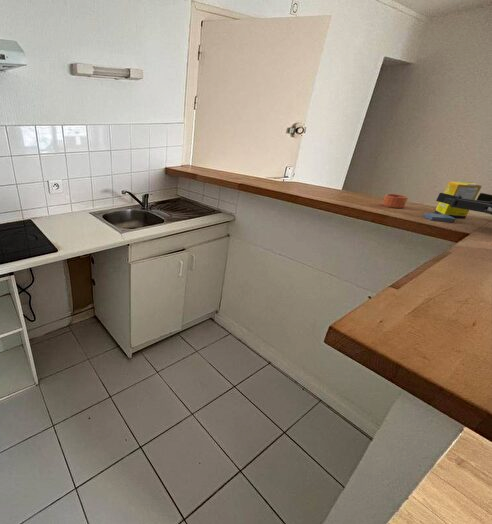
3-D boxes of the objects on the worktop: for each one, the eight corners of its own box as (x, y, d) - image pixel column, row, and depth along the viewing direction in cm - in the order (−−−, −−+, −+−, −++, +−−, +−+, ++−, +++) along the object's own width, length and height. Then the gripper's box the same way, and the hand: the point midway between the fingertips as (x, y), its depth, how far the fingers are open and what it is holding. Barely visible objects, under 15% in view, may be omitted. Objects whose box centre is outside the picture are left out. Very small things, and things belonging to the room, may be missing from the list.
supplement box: (454, 213, 98) (471, 182, 94) (465, 218, 93) (483, 185, 89) (433, 212, 100) (448, 180, 95) (442, 216, 95) (459, 183, 90)
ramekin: (399, 205, 109) (403, 194, 107) (407, 209, 103) (411, 198, 102) (379, 203, 111) (382, 193, 109) (385, 207, 105) (389, 197, 104)
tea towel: (445, 218, 94) (447, 214, 93) (454, 222, 90) (456, 218, 89) (423, 216, 96) (424, 212, 95) (430, 220, 92) (432, 216, 91)
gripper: (486, 228, 76) (417, 207, 95) (576, 229, 77) (489, 208, 96) (502, 201, 73) (427, 185, 92) (596, 201, 73) (502, 185, 92)
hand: (458, 196), depth 94 cm, fingers open, 13 cm apart
